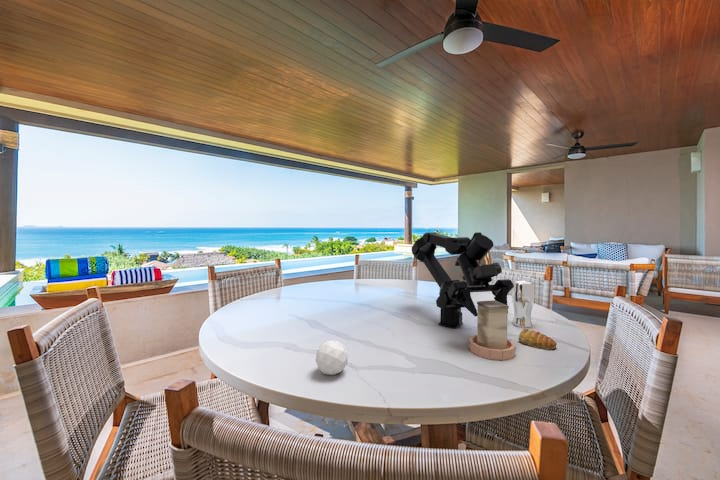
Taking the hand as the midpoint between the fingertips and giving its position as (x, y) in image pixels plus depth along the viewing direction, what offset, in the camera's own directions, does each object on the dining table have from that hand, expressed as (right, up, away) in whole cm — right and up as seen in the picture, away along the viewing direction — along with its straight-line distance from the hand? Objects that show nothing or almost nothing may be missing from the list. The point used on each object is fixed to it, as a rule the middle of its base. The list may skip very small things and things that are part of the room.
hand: (491, 314), depth 85 cm
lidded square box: (0, -9, 0) cm, 9 cm away
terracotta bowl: (0, -10, 0) cm, 10 cm away
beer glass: (+20, -9, +21) cm, 31 cm away
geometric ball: (-44, -11, -11) cm, 46 cm away
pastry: (+15, -10, +5) cm, 19 cm away
